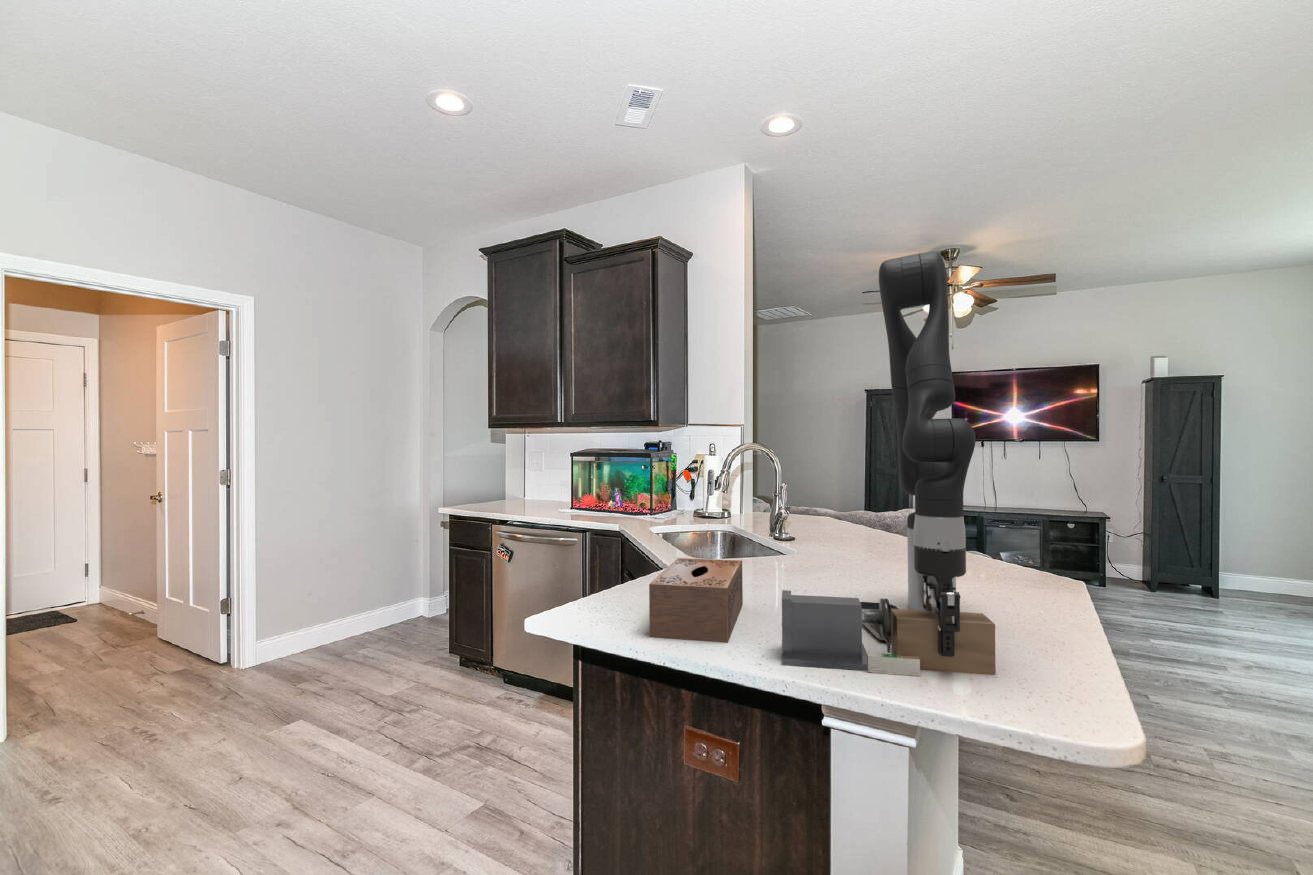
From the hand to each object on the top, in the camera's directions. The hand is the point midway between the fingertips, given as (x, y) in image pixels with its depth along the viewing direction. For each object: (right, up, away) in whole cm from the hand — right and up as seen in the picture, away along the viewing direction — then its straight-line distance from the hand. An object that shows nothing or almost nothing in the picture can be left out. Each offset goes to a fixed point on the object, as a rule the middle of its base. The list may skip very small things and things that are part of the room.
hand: (940, 647), depth 95 cm
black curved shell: (-2, -4, +18) cm, 18 cm away
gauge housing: (-14, -3, +3) cm, 15 cm away
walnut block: (0, -3, 0) cm, 3 cm away
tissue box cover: (-36, -4, +25) cm, 45 cm away
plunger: (-14, 0, +2) cm, 14 cm away
